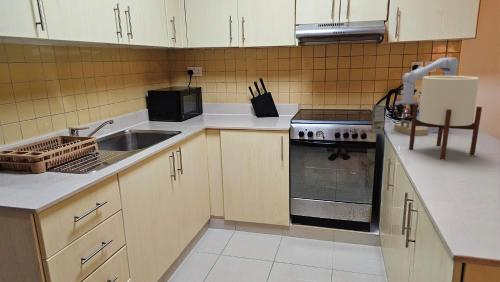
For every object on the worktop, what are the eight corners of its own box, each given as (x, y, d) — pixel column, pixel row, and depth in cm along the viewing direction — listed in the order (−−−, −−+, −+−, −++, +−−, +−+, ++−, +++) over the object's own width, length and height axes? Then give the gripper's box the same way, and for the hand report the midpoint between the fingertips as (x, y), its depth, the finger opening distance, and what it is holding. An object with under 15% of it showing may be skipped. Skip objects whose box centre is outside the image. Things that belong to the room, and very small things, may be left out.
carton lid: (408, 124, 216) (409, 117, 215) (428, 130, 199) (429, 122, 198) (394, 125, 214) (395, 117, 213) (412, 131, 197) (413, 123, 196)
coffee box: (384, 133, 205) (386, 106, 201) (373, 133, 206) (375, 106, 202) (381, 130, 214) (384, 104, 210) (371, 130, 215) (373, 104, 211)
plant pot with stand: (438, 144, 180) (447, 75, 171) (479, 155, 160) (491, 77, 151) (404, 148, 173) (412, 76, 164) (442, 161, 152) (453, 79, 143)
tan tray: (408, 129, 217) (408, 124, 216) (427, 135, 200) (428, 130, 199) (393, 129, 215) (394, 125, 214) (412, 136, 198) (412, 131, 197)
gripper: (414, 92, 206) (412, 114, 210) (393, 93, 204) (390, 115, 207) (422, 93, 199) (420, 116, 203) (400, 94, 197) (397, 118, 200)
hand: (405, 116), depth 204 cm, fingers open, 7 cm apart
